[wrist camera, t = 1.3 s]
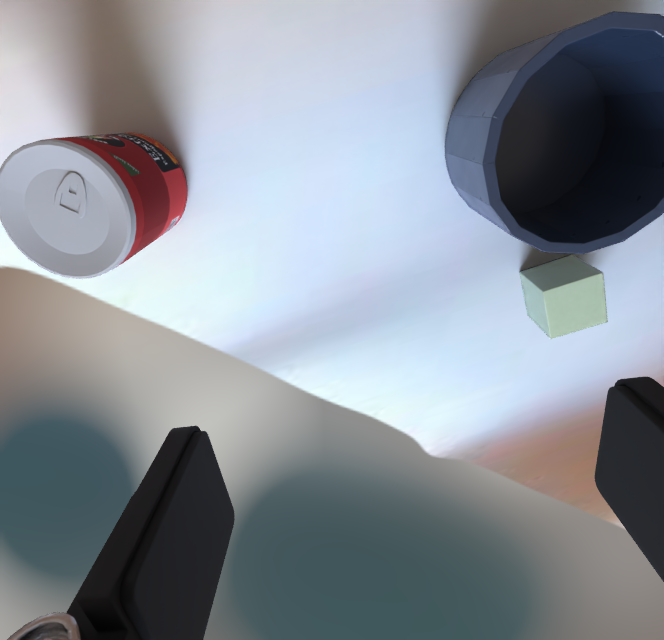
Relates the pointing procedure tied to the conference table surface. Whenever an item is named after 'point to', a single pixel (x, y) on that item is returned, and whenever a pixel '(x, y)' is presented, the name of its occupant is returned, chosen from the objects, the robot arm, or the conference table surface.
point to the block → (564, 296)
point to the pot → (566, 135)
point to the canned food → (89, 200)
